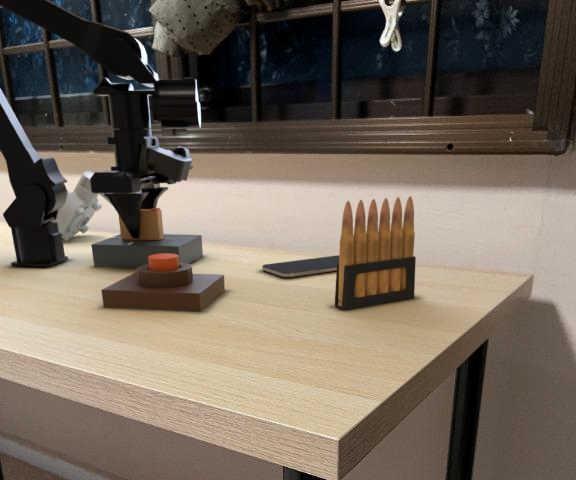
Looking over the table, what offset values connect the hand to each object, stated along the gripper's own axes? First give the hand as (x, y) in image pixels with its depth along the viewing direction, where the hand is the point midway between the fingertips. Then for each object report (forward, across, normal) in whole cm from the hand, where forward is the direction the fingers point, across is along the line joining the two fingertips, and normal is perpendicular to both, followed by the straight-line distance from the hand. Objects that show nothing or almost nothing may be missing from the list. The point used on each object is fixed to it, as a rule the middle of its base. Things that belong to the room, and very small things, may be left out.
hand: (142, 235), depth 97 cm
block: (0, 0, 0) cm, 0 cm away
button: (0, -23, -12) cm, 26 cm away
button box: (+4, -22, -12) cm, 26 cm away
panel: (+4, 0, -1) cm, 4 cm away
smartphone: (+4, -2, -28) cm, 28 cm away
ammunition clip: (+4, -20, -38) cm, 43 cm away
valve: (+4, +19, +16) cm, 25 cm away
